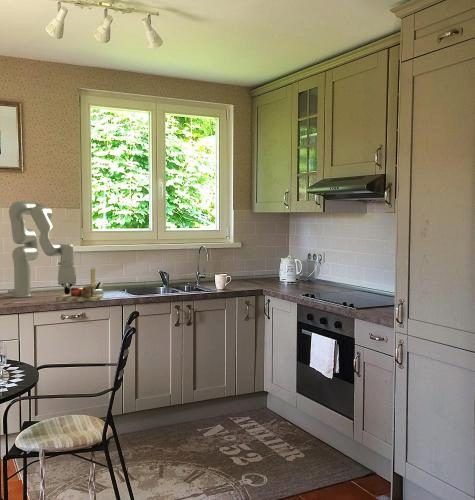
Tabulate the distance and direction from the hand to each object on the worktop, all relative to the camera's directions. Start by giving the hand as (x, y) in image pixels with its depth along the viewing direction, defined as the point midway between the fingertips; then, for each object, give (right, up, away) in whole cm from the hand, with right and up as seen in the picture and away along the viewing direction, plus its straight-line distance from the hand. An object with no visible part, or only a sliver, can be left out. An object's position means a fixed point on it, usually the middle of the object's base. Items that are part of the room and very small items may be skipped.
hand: (67, 294), depth 345 cm
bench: (+8, -3, +1) cm, 8 cm away
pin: (+12, -1, +1) cm, 12 cm away
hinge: (+13, -3, +20) cm, 24 cm away
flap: (+16, +5, +1) cm, 17 cm away
